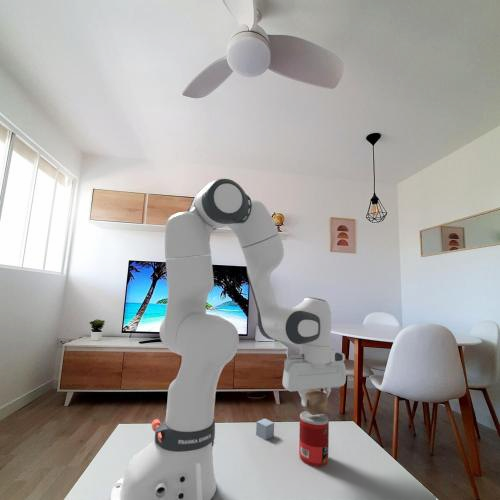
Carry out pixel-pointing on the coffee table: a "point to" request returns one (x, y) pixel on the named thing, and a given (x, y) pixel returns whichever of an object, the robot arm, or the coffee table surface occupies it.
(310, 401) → the tan cube
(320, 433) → the canned food
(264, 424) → the slate block
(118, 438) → the coffee table surface
